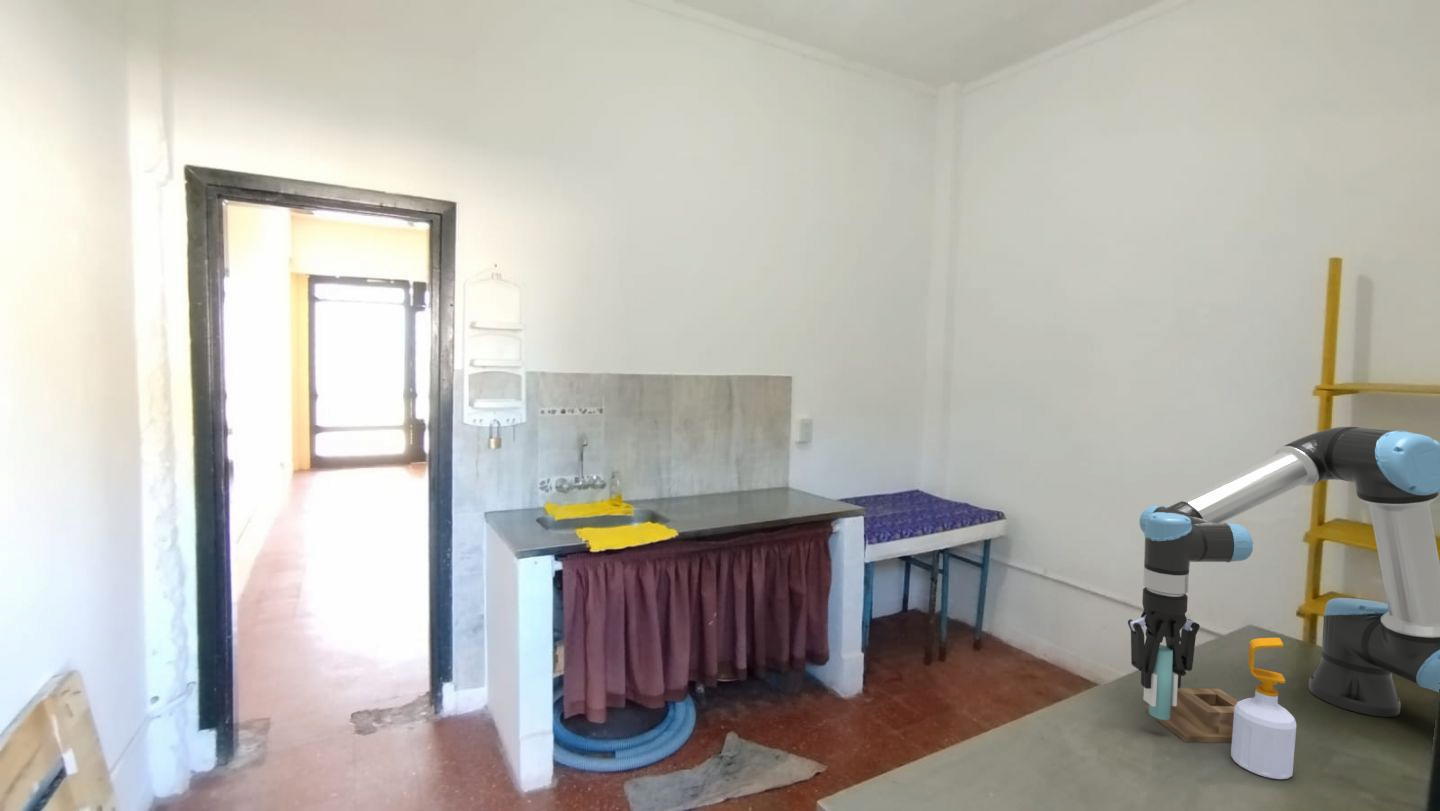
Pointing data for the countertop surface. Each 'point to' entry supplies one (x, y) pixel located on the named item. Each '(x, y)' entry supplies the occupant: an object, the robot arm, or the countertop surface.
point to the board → (1190, 730)
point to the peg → (1163, 683)
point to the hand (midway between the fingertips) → (1159, 702)
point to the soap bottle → (1264, 724)
